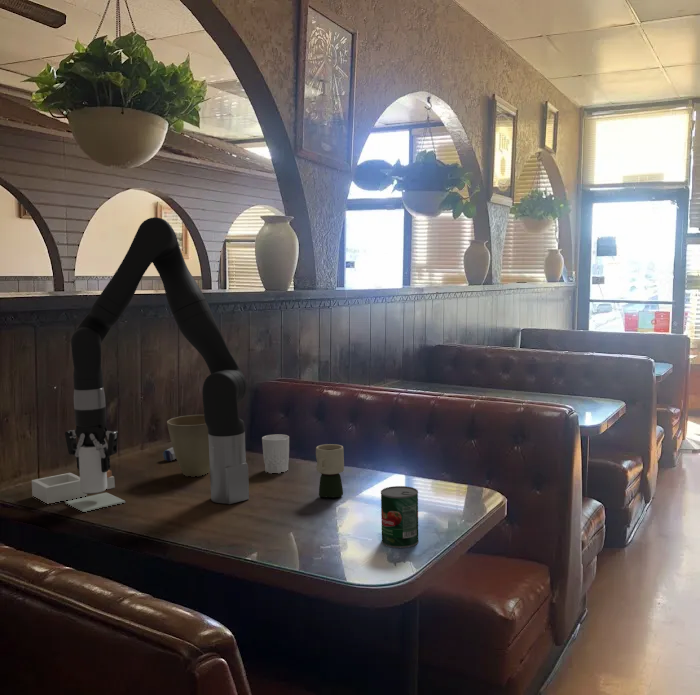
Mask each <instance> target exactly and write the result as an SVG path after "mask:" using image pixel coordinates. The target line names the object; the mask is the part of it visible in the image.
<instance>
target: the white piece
mask: <svg viewBox="0 0 700 695" xmlns="http://www.w3.org/2000/svg"><path fill="white" fill-rule="evenodd" d="M115 482H116V481H115V476H113V475H112V476H111V477H107V490H110V489H111V490H112V489H115V488H116V484H115ZM31 490H32V491H31V493H32V494H31V495H32V497H33V496H34V497H36V498H38V499H40V500H41V501H43V502H45V503H47V504H49V503H55V502H59V503H61V502H60V501H64V502H65V501H66V500H68V501H70V500H72V499H73V500H74V499H76V498H77V499H79V498H80V497H82V498H83V497H85V496H86V497H88V494H86V493H83V492H82V491H81V486H80V475H79V476H78V475H76V474H74V473H72V472H67V473H62V474H56V475H52V476H45V477H42V478H41V477H40V478H36V479H31ZM34 497H33V498H34ZM36 498H35V499H36ZM41 501H40V502H41ZM43 502H42V503H43ZM45 503H44V504H45ZM55 504H56V503H55Z"/></svg>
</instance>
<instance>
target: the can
mask: <svg viewBox="0 0 700 695" xmlns="http://www.w3.org/2000/svg"><path fill="white" fill-rule="evenodd" d="M100 445H103V444H100ZM103 449H104V448H103ZM101 458H102V457H101V455H100V452H99V451H98V450H97V449H96V446H91V445H89V446H85V445H84V446H83V447H82V446H80V449H79V469H78V471H79V470H80V471H79V477H80V486H81V491H82V492H83V493H86V494H87V495H88V494H89V495H90V494H91V495H95V494H101V493H104V492H105V491H106V489H107V472H102V469H101ZM107 490H108V489H107Z"/></svg>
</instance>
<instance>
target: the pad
mask: <svg viewBox="0 0 700 695" xmlns="http://www.w3.org/2000/svg"><path fill="white" fill-rule="evenodd" d="M64 502H65V505H67V504H68V505H67V506H69V505H70V506H69V507H71V506H72V507H71V508H73V507H74V508H76V509H78V510H80V511H82V512H86V513H88V512H87V511H91V510H95V509H99V508H102V507H107V508H109V507H108V506H111V507H113V506H112V505H116V506H118V505H117V504H120V505H123V504H122V503H124V504H126V500H124V499H122V498H120V497H118V496H115V495H113V494H111V493H109V492H105V491H104V492H100V493H96V494H91V495H87V496H86V497H82V498H77V499H73V500H68V501H64ZM74 508H73V509H74ZM76 509H75V510H76ZM78 510H77V511H78ZM99 510H100V509H99ZM80 511H79V512H80ZM95 511H96V510H95ZM82 512H81V513H82ZM91 512H92V511H91Z"/></svg>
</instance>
